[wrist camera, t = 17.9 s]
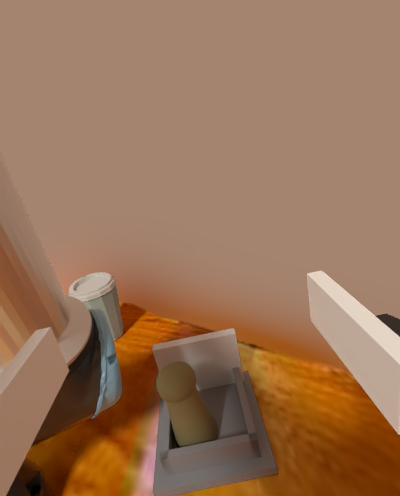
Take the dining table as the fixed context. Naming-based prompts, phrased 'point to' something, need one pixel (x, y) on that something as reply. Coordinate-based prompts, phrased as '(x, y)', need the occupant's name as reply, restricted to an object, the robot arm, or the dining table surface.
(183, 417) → the cork
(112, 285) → the disposable coffee cup
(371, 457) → the dining table surface
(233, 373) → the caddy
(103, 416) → the dining table surface
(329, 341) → the robot arm
